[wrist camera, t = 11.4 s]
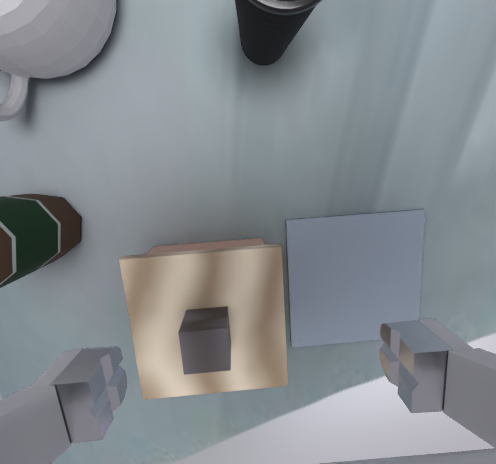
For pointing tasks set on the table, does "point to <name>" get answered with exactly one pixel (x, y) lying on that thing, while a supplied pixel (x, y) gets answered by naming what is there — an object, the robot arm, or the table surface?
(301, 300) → the slate mat
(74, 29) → the mug
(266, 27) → the drinking cup
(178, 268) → the birch lid
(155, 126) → the table surface
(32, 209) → the beer bottle
